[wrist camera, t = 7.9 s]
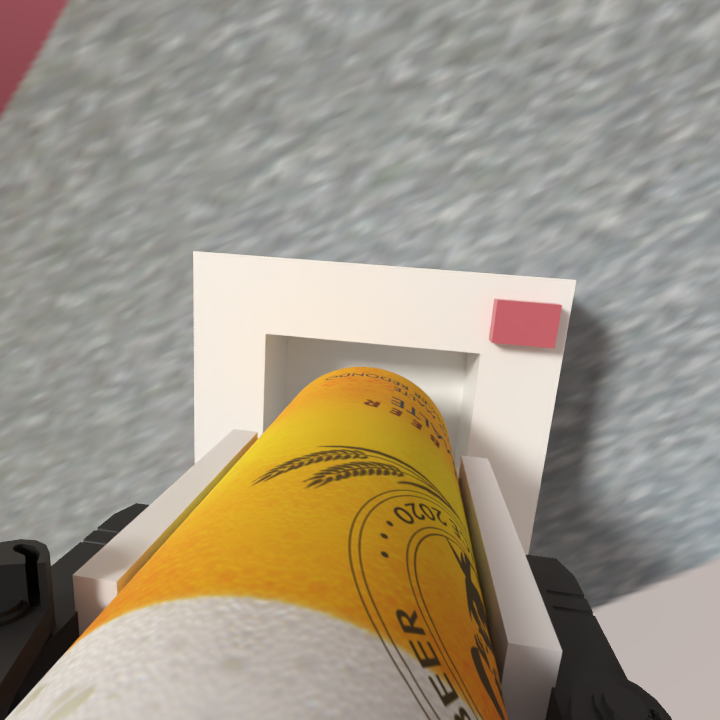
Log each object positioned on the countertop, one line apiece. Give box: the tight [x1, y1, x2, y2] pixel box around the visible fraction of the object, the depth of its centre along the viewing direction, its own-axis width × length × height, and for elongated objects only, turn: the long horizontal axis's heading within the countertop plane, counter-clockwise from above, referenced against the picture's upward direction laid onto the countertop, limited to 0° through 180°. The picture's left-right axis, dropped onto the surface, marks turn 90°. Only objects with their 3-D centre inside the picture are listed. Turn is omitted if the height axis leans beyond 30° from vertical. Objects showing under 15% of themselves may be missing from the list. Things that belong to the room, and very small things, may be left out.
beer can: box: [5, 367, 508, 720], centre depth 9 cm, size 6×6×15 cm
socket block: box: [193, 251, 576, 555], centre depth 18 cm, size 13×13×4 cm
